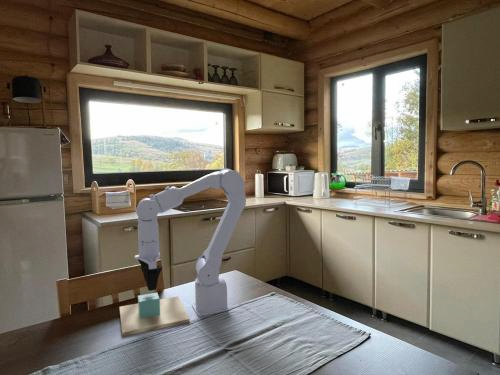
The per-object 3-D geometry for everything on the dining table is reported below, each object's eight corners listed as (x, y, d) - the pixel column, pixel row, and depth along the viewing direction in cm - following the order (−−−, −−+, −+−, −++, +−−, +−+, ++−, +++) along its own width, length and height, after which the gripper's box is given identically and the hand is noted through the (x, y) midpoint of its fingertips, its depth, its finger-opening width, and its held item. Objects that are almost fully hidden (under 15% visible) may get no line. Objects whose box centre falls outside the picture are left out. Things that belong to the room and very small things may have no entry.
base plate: (178, 299, 109) (177, 284, 109) (189, 322, 95) (189, 305, 94) (119, 309, 102) (118, 294, 102) (122, 336, 88) (121, 318, 87)
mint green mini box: (157, 308, 101) (157, 292, 101) (160, 314, 97) (159, 298, 97) (138, 311, 99) (137, 295, 98) (140, 318, 95) (139, 301, 94)
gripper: (131, 235, 101) (133, 278, 103) (136, 248, 88) (138, 297, 90) (155, 233, 104) (157, 274, 106) (163, 245, 91) (165, 292, 93)
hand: (150, 284), depth 98 cm, fingers open, 7 cm apart
